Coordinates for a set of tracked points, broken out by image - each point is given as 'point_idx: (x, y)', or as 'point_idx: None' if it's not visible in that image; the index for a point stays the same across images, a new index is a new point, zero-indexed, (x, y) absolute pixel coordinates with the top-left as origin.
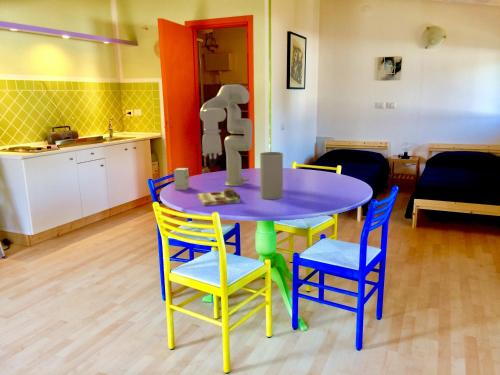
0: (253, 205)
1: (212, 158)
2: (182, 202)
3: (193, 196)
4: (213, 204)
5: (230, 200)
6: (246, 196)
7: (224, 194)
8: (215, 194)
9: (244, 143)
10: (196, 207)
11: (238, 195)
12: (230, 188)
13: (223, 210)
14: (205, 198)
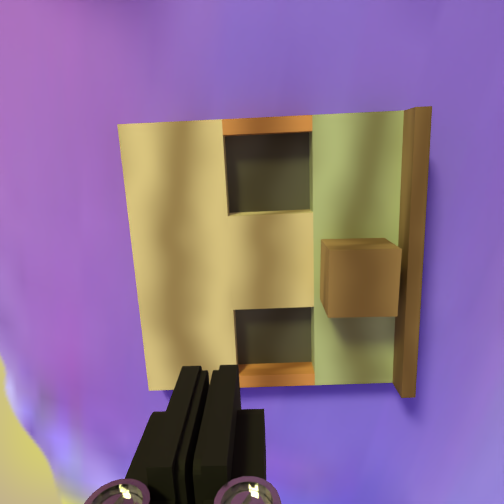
0: (452, 452)
1: (197, 487)
2: (13, 253)
3: (91, 94)
4: None
5: (335, 381)
6: (493, 227)
7: (322, 271)
8: (269, 133)
9: None
10: (108, 396)
11: (404, 397)
12: (393, 250)
13: None
14: (169, 300)
